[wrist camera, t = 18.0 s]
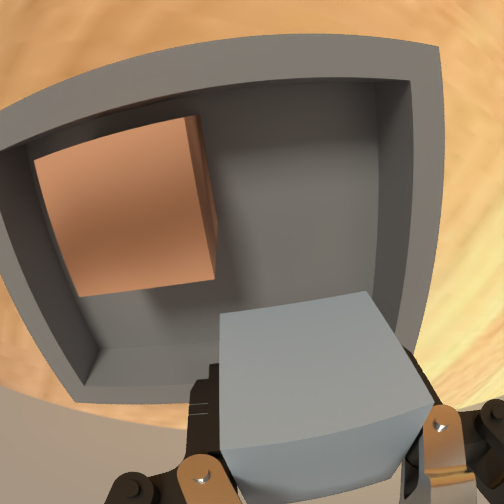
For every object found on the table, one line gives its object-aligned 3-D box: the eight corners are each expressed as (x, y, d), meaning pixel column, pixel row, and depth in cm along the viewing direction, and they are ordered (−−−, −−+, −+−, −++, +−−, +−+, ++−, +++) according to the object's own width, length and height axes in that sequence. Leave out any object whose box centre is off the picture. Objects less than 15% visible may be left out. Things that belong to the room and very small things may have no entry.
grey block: (219, 313, 10) (220, 449, 6) (366, 290, 10) (434, 402, 6) (241, 403, 12) (249, 507, 8) (354, 383, 12) (390, 478, 8)
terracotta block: (92, 139, 12) (33, 160, 8) (199, 114, 12) (184, 117, 8) (118, 239, 14) (79, 297, 10) (218, 222, 14) (214, 279, 10)
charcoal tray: (7, 123, 12) (-41, 134, 8) (391, 55, 12) (438, 46, 8) (91, 358, 19) (75, 402, 15) (385, 321, 19) (410, 362, 16)
